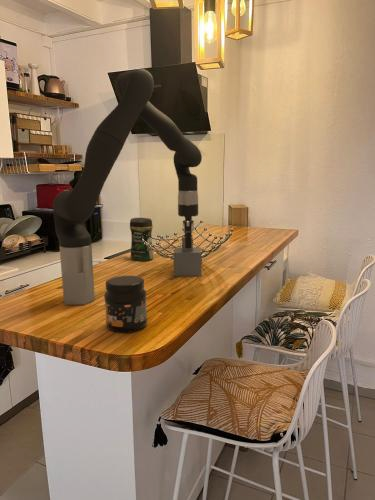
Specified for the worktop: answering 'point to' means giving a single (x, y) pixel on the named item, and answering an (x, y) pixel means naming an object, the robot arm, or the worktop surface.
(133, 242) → the coffee jar
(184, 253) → the gray stepped pedestal
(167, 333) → the worktop surface
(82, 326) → the worktop surface
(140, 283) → the supplement container
